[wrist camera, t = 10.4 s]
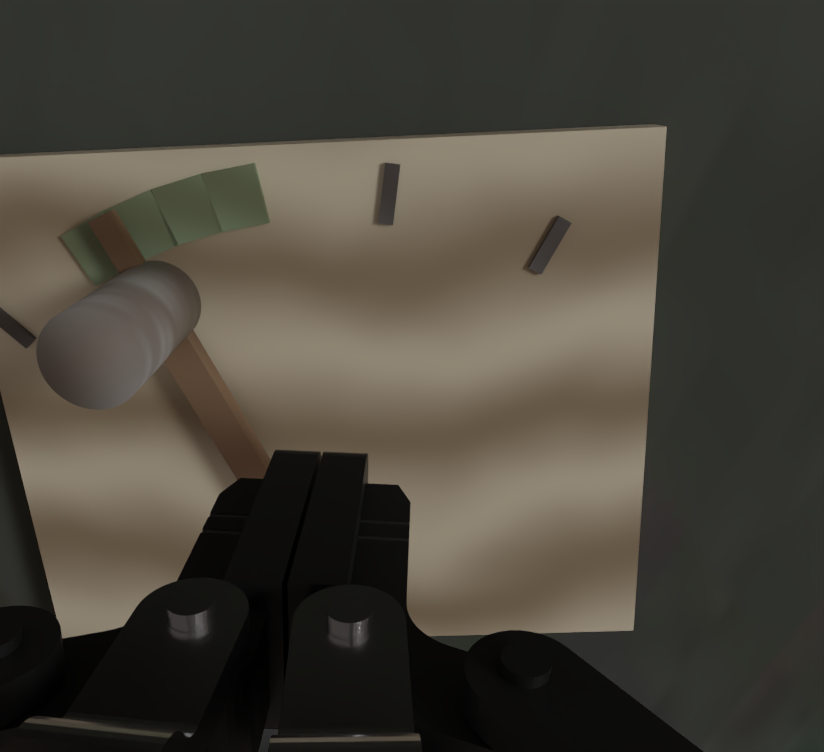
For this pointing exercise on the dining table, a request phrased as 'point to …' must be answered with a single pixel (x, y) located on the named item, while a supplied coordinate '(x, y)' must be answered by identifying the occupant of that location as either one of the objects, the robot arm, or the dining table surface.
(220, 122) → the dining table surface
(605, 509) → the board
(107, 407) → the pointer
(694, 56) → the dining table surface
